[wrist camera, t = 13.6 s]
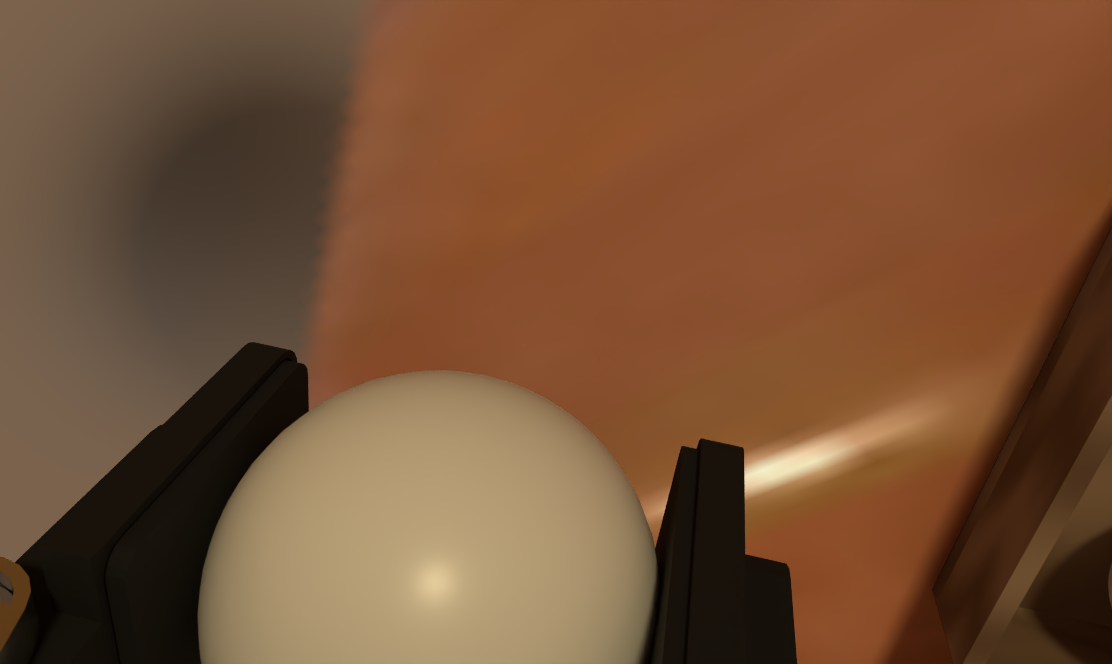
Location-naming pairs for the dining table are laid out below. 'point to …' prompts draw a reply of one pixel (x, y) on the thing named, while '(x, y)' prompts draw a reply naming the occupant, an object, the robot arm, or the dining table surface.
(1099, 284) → the tray
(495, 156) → the dining table surface
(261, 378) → the robot arm
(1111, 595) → the cream ball
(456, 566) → the cream ball
